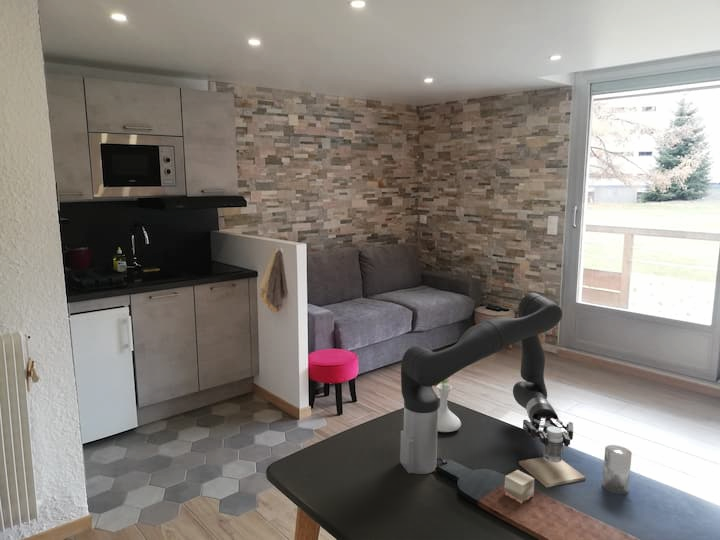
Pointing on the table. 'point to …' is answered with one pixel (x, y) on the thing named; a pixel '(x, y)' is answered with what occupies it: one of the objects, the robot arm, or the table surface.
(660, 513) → the table surface
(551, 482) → the oak mat
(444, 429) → the flower in vase
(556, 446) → the pill bottle
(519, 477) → the ash block
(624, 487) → the tin can
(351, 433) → the table surface
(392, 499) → the table surface
